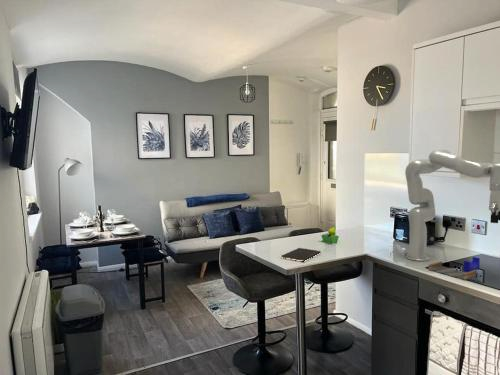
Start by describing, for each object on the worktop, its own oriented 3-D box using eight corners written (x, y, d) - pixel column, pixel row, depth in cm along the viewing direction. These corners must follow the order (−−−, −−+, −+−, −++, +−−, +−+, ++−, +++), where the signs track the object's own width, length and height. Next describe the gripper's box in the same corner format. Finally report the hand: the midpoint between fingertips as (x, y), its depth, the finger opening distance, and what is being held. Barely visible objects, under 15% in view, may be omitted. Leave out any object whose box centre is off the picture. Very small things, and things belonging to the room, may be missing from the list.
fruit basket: (320, 241, 276) (320, 226, 275) (329, 240, 281) (329, 225, 280) (331, 245, 267) (332, 229, 266) (340, 243, 272) (340, 227, 271)
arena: (428, 270, 208) (428, 264, 208) (439, 266, 214) (440, 261, 214) (465, 280, 191) (465, 274, 191) (476, 276, 197) (476, 270, 197)
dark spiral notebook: (281, 259, 236) (281, 255, 235) (299, 251, 254) (299, 247, 254) (303, 263, 226) (303, 259, 226) (320, 254, 245) (320, 251, 244)
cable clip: (470, 266, 214) (471, 256, 213) (479, 268, 210) (479, 258, 209) (460, 271, 207) (460, 260, 206) (469, 273, 203) (469, 262, 202)
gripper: (494, 186, 199) (493, 218, 200) (484, 188, 187) (483, 223, 189) (511, 187, 193) (510, 220, 195) (502, 189, 182) (501, 225, 183)
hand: (496, 221), depth 192 cm, fingers open, 9 cm apart
